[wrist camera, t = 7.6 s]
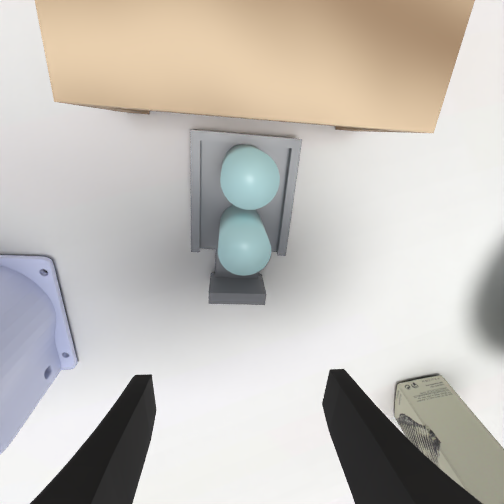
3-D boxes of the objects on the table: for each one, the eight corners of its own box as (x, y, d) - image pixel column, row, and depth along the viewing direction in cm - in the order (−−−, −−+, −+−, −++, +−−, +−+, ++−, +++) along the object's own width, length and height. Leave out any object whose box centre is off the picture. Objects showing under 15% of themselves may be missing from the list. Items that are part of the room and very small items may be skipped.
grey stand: (276, 284, 20) (291, 331, 16) (193, 282, 20) (183, 330, 15) (296, 138, 16) (324, 142, 12) (193, 129, 16) (179, 129, 11)
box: (394, 381, 26) (534, 593, 14) (441, 372, 26) (619, 576, 14) (392, 417, 28) (511, 627, 16) (435, 409, 28) (585, 612, 16)
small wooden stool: (354, 131, 16) (433, 132, 10) (126, 112, 15) (54, 101, 9) (388, -39, 13) (532, -186, 7) (107, -80, 12) (-25, -308, 6)
